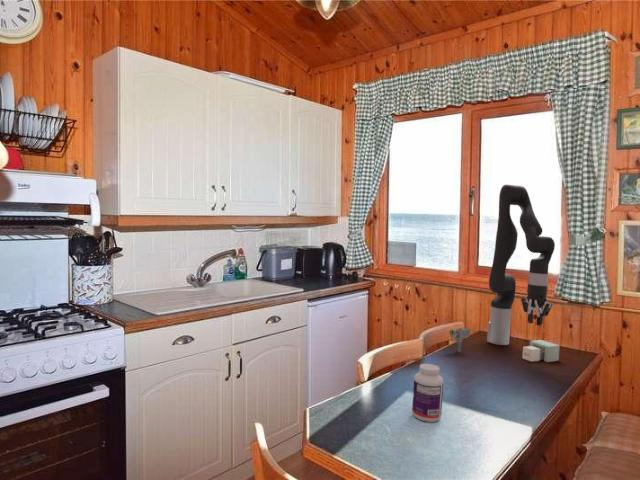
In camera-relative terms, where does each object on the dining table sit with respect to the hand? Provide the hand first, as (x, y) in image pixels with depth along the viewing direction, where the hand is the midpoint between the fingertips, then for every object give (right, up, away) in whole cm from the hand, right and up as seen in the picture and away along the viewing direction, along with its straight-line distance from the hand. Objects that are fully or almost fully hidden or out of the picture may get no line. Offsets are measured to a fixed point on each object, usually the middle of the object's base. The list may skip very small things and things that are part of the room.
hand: (534, 324), depth 185 cm
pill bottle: (-61, -15, -61) cm, 87 cm away
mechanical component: (-30, -13, +6) cm, 34 cm away
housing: (+6, -15, +4) cm, 17 cm away
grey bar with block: (+3, -15, +3) cm, 16 cm away
